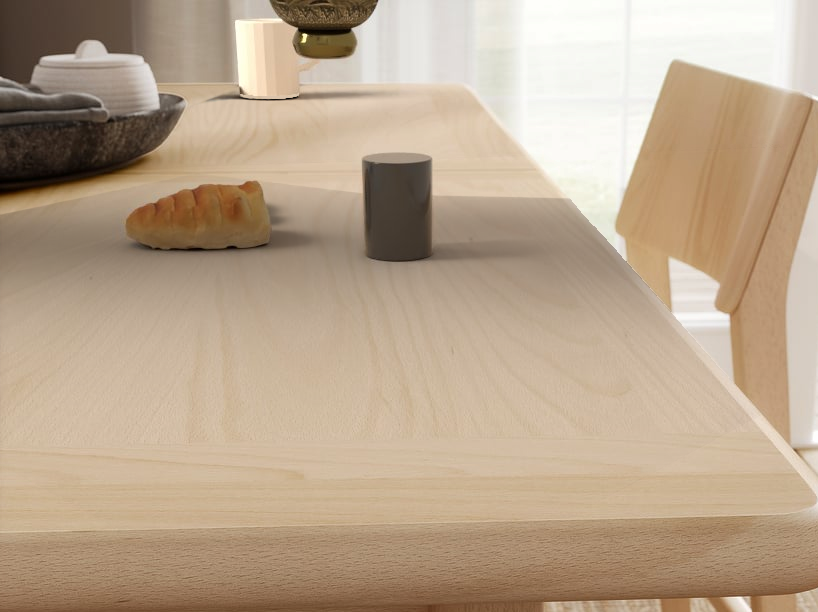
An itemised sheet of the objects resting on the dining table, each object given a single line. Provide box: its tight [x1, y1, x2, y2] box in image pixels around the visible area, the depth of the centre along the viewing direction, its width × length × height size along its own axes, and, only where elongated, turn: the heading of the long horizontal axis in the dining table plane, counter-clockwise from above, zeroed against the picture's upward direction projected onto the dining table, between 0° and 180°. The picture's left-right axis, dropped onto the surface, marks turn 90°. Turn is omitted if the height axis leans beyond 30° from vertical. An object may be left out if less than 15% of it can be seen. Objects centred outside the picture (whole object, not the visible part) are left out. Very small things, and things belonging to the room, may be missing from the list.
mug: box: [234, 18, 321, 96], centre depth 158 cm, size 8×12×10 cm
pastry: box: [125, 180, 272, 251], centre depth 77 cm, size 9×7×4 cm
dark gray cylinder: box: [361, 151, 434, 262], centre depth 74 cm, size 4×4×6 cm
